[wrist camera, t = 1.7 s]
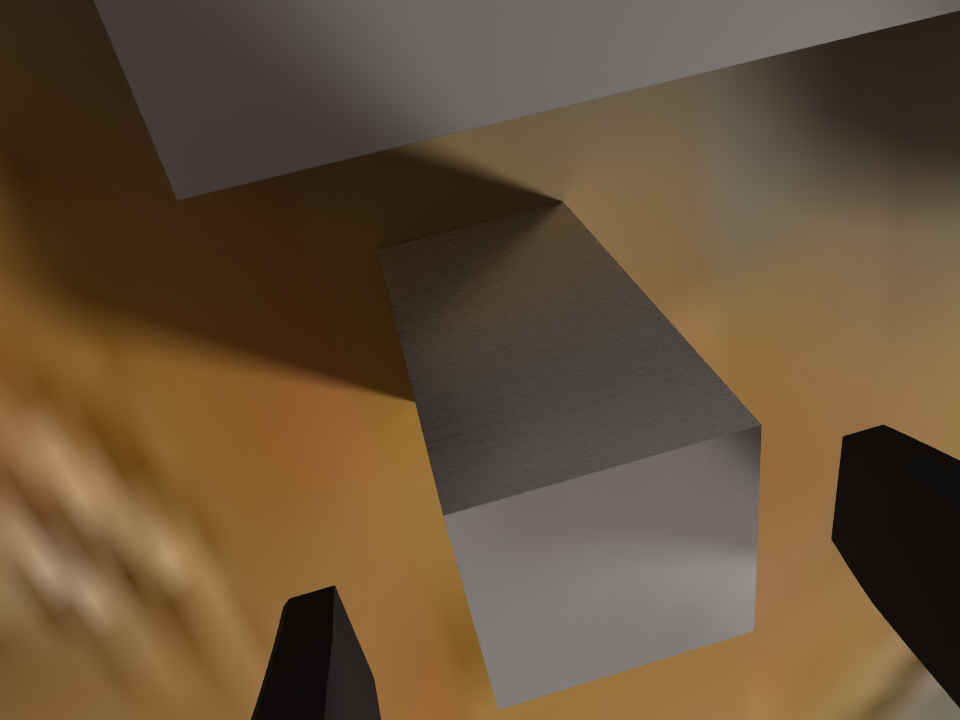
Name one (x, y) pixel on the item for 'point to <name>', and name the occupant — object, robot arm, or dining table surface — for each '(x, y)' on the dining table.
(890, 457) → the robot arm
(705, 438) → the square peg
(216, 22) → the socket block
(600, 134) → the dining table surface
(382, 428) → the dining table surface
